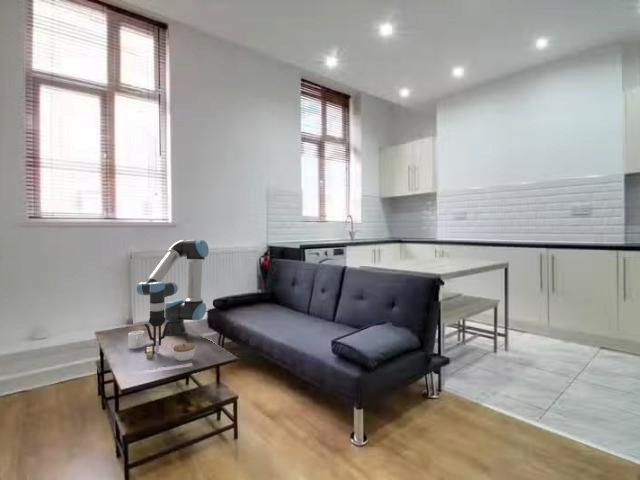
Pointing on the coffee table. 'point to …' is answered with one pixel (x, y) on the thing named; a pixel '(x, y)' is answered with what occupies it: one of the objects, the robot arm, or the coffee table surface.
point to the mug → (136, 339)
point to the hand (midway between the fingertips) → (157, 351)
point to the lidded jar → (184, 351)
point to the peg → (149, 349)
